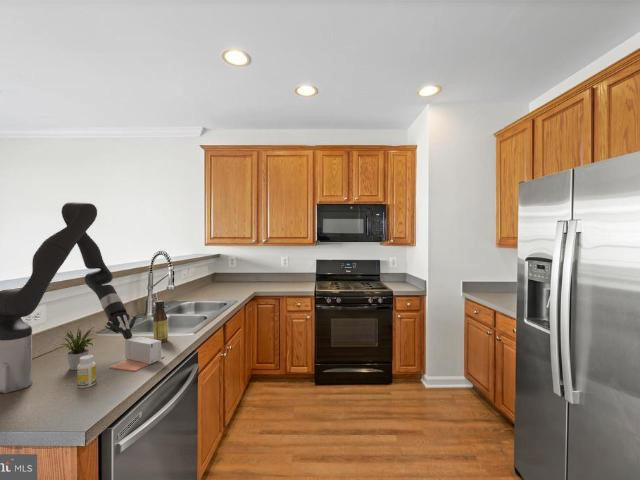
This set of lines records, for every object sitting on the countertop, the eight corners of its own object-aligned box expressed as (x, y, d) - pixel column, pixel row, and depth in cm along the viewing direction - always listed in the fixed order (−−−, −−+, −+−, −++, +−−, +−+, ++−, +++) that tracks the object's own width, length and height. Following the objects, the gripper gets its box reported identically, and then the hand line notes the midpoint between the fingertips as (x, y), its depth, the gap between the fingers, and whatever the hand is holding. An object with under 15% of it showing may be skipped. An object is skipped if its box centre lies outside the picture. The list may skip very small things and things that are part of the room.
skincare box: (136, 354, 148) (162, 360, 142) (123, 358, 142) (149, 365, 136) (137, 335, 148) (162, 340, 142) (124, 338, 142) (150, 344, 136)
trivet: (134, 371, 130) (134, 370, 130) (109, 368, 134) (109, 366, 134) (164, 357, 146) (164, 356, 146) (140, 354, 149) (140, 353, 149)
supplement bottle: (92, 380, 123) (93, 353, 122) (98, 384, 119) (98, 356, 119) (75, 385, 118) (75, 357, 118) (80, 389, 115) (80, 360, 115)
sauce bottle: (170, 339, 171) (170, 299, 170) (163, 343, 164) (163, 302, 164) (157, 339, 171) (157, 299, 171) (150, 343, 165) (150, 301, 165)
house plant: (47, 378, 124) (47, 333, 123) (53, 366, 135) (53, 324, 135) (94, 371, 131) (94, 328, 131) (96, 359, 143) (96, 320, 142)
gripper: (100, 303, 143) (117, 337, 137) (131, 298, 155) (147, 329, 149) (93, 314, 146) (109, 348, 140) (124, 308, 157) (140, 339, 152)
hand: (129, 338), depth 144 cm, fingers closed
